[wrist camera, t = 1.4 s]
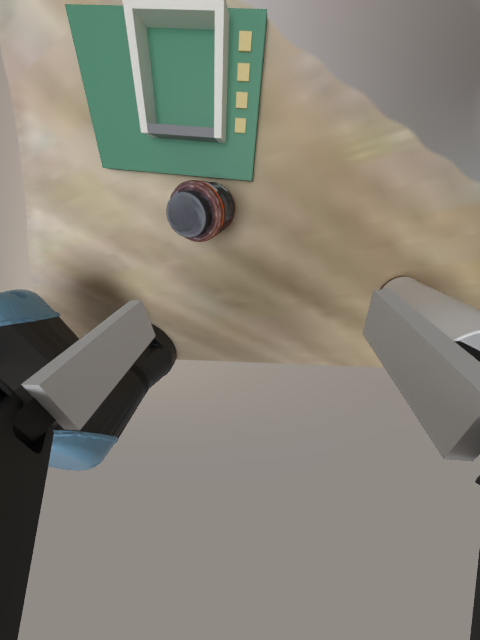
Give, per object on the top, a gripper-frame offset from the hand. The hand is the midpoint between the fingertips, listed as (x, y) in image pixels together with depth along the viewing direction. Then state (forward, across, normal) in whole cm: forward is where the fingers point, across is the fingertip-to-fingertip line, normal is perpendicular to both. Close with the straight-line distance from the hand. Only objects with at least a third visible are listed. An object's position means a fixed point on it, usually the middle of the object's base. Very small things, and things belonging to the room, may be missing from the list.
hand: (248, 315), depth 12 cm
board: (+22, -10, +16) cm, 29 cm away
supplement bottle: (+22, -6, +5) cm, 24 cm away
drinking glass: (+22, +20, -9) cm, 31 cm away
